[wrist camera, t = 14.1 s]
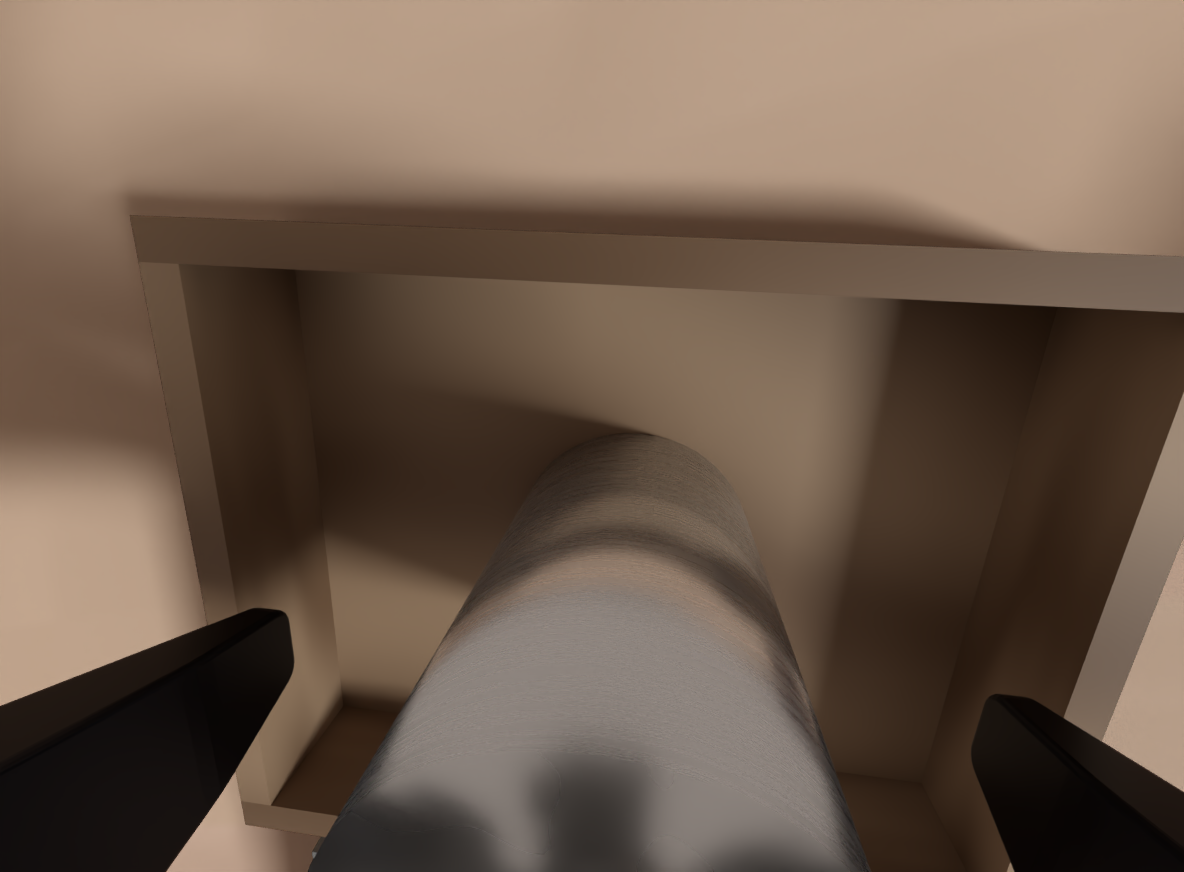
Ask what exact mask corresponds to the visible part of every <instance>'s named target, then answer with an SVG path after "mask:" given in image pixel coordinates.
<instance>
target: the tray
mask: <svg viewBox="0 0 1184 872" xmlns="http://www.w3.org/2000/svg"><path fill="white" fill-rule="evenodd" d="M130 220H131V225H132V230H133V235H134V241H135V246H136V251H137V256H138V262H139V267H140V272H141V277H142V283H143V288H144V293H145V298H146V304H147V309H148V314H149V319H150V325H151V330H152V335H153V341H154V346H155V351H156V356H157V362H158V367H159V372H160V377H161V383H162V388H163V393H164V398H165V404H166V409H167V414H168V419H169V425H170V430H171V435H172V440H173V446H174V451H175V456H176V461H177V467H178V472H179V477H180V482H181V488H182V493H183V498H184V503H185V509H186V514H187V519H188V525H189V530H190V535H191V540H192V546H193V551H194V556H195V561H196V567H197V572H198V577H199V582H200V588H201V593H202V598H203V603H204V609H205V614H206V619H207V624H208V625H210V624H212V623H215V622H218V621H220V620H223V619H225V618H228V617H230V616H233V615H236V614H238V613H241V612H243V611H246V610H248V609H251V608H267V609H276V610H281V611H283V612H285V613H286V614H287V616H288V618H289V622H290V629H291V637H292V644H293V651H294V659H295V662H294V669H293V673H292V676H291V678H290V680H289V682H288V684H287V685H286V687H285V689H284V691H283V692H282V694H281V696H280V697H279V699H278V701H277V702H276V704H275V706H274V707H273V709H272V711H271V712H270V714H269V716H268V717H267V719H266V721H265V722H264V724H263V726H262V727H261V729H260V731H259V732H258V734H257V736H256V737H255V739H254V741H253V742H252V744H251V746H250V747H249V749H248V751H247V753H246V754H245V756H244V758H243V759H242V761H241V763H240V764H239V766H238V768H237V769H236V771H235V772H236V777H237V782H238V787H239V793H240V798H241V803H242V808H243V814H244V819H245V824H246V825H252V826H258V827H264V828H270V829H277V830H283V831H289V832H296V833H302V834H308V835H314V836H321V837H326V836H327V834H328V832H329V831H330V829H331V827H332V826H333V824H334V822H335V821H336V819H337V817H338V816H339V814H340V812H341V810H342V809H343V807H344V805H345V804H346V802H347V800H348V799H349V797H350V795H351V794H352V792H353V790H354V788H355V787H356V785H357V783H358V782H359V780H360V778H361V777H362V775H363V773H364V772H365V770H366V768H367V766H368V765H369V763H370V761H371V760H372V758H373V756H374V755H375V753H376V751H377V750H378V748H379V746H380V744H381V743H382V741H383V739H384V738H385V736H386V734H387V733H388V731H389V729H390V728H391V726H392V724H393V722H394V721H395V719H396V717H397V716H398V714H399V712H400V711H401V709H402V707H403V705H404V704H405V702H406V700H407V699H408V697H409V695H410V694H411V692H412V690H413V689H414V687H415V685H416V683H417V682H418V680H419V678H420V677H421V675H422V673H423V672H424V670H425V668H426V667H427V665H428V663H429V661H430V660H431V658H432V656H433V655H434V653H435V651H436V650H437V648H438V646H439V645H440V643H441V641H442V639H443V638H444V636H445V634H446V633H447V631H448V629H449V628H450V626H451V624H452V623H453V621H454V619H455V617H456V616H457V614H458V612H459V611H460V609H461V607H462V606H463V604H464V602H465V601H466V599H467V597H468V595H469V594H470V592H471V590H472V589H473V587H474V585H475V584H476V582H477V580H478V579H479V577H480V575H481V573H482V572H483V570H484V568H485V567H486V565H487V563H488V562H489V560H490V558H491V556H492V555H493V553H494V551H495V550H496V548H497V546H498V545H499V543H500V541H501V540H502V538H503V536H504V534H505V533H506V531H507V529H508V528H509V526H510V524H511V523H512V521H513V519H514V518H515V516H516V514H517V512H518V511H519V509H520V507H521V506H522V504H523V502H524V501H525V499H526V497H527V496H528V494H529V492H530V490H531V489H532V487H533V485H534V484H535V482H536V480H537V479H538V478H539V476H540V475H541V474H542V472H543V471H544V470H545V469H546V468H547V467H548V466H549V465H550V464H551V463H552V462H553V461H554V460H555V459H556V458H558V457H559V456H560V455H562V454H563V453H564V452H566V451H567V450H569V449H571V448H573V447H574V446H576V445H578V444H580V443H583V442H585V441H588V440H590V439H593V438H596V437H601V436H605V435H609V434H618V433H643V434H650V435H656V436H660V437H664V438H667V439H671V440H673V441H676V442H678V443H681V444H683V445H686V446H687V447H689V448H691V449H693V450H694V451H696V452H698V453H699V454H701V455H702V456H703V457H705V458H706V459H707V460H709V461H710V462H711V463H712V464H713V465H714V466H715V467H716V468H717V469H718V470H719V471H720V472H721V473H722V474H723V475H724V476H725V478H726V479H727V480H728V481H729V483H730V484H731V485H732V487H733V489H734V491H735V493H736V494H737V496H738V498H739V500H740V503H741V506H742V508H743V511H744V513H745V516H746V519H747V522H748V525H749V528H750V530H751V533H752V536H753V539H754V542H755V545H756V547H757V550H758V553H759V556H760V559H761V562H762V564H763V567H764V570H765V573H766V576H767V578H768V581H769V584H770V587H771V590H772V593H773V595H774V598H775V601H776V604H777V607H778V610H779V612H780V615H781V618H782V621H783V624H784V627H785V629H786V632H787V635H788V638H789V641H790V644H791V646H792V649H793V652H794V655H795V658H796V661H797V663H798V666H799V669H800V672H801V675H802V678H803V680H804V683H805V686H806V689H807V692H808V694H809V697H810V700H811V703H812V706H813V709H814V711H815V714H816V717H817V720H818V723H819V726H820V728H821V731H822V734H823V737H824V740H825V743H826V745H827V748H828V751H829V754H830V757H831V760H832V762H833V765H834V768H835V771H836V774H837V777H838V779H839V782H840V785H841V788H842V791H843V794H844V796H845V799H846V802H847V805H848V808H849V810H850V813H851V816H852V819H853V822H854V825H855V827H856V830H857V833H858V836H859V839H860V842H861V844H862V847H863V850H864V853H865V856H866V859H867V861H868V864H869V867H870V870H871V872H1014V870H1013V867H1012V865H1011V862H1010V860H1009V857H1008V855H1007V852H1006V850H1005V847H1004V845H1003V842H1002V840H1001V837H1000V835H999V832H998V830H997V827H996V825H995V822H994V819H993V817H992V814H991V812H990V809H989V807H988V804H987V802H986V799H985V797H984V794H983V792H982V789H981V787H980V784H979V782H978V779H977V777H976V774H975V772H974V769H973V765H972V761H971V745H972V741H973V738H974V735H975V732H976V729H977V725H978V722H979V719H980V716H981V713H982V709H983V706H984V703H985V701H986V699H987V698H988V697H989V696H991V695H993V694H1005V695H1014V696H1023V697H1028V698H1031V699H1033V700H1035V701H1037V702H1039V703H1040V704H1042V705H1044V706H1045V707H1047V708H1048V709H1050V710H1052V711H1053V712H1055V713H1057V714H1058V715H1060V716H1061V717H1063V718H1065V719H1066V720H1068V721H1069V722H1071V723H1073V724H1074V725H1076V726H1078V727H1079V728H1081V729H1082V730H1084V731H1086V732H1087V733H1089V734H1091V735H1092V736H1094V737H1095V738H1097V739H1099V740H1100V741H1102V739H1103V737H1104V734H1105V732H1106V729H1107V727H1108V724H1109V722H1110V719H1111V717H1112V714H1113V712H1114V709H1115V707H1116V704H1117V702H1118V699H1119V697H1120V695H1121V692H1122V690H1123V687H1124V685H1125V682H1126V680H1127V677H1128V675H1129V672H1130V670H1131V667H1132V665H1133V662H1134V660H1135V657H1136V655H1137V652H1138V650H1139V647H1140V645H1141V642H1142V640H1143V637H1144V635H1145V632H1146V630H1147V627H1148V625H1149V622H1150V620H1151V617H1152V615H1153V612H1154V610H1155V607H1156V605H1157V602H1158V600H1159V597H1160V595H1161V592H1162V590H1163V587H1164V585H1165V582H1166V580H1167V577H1168V575H1169V572H1170V570H1171V567H1172V565H1173V562H1174V560H1175V557H1176V555H1177V552H1178V550H1179V547H1180V545H1181V542H1182V540H1183V537H1184V257H1181V256H1155V255H1130V254H1104V253H1079V252H1053V251H1028V250H1002V249H977V248H951V247H926V246H900V245H875V244H849V243H824V242H798V241H773V240H747V239H722V238H696V237H671V236H645V235H620V234H594V233H569V232H543V231H518V230H492V229H467V228H441V227H416V226H390V225H365V224H339V223H314V222H288V221H263V220H237V219H211V218H186V217H160V216H135V215H130Z"/></svg>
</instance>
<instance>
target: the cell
mask: <svg viewBox="0 0 1184 872" xmlns="http://www.w3.org/2000/svg"><path fill="white" fill-rule="evenodd" d="M308 872H871V870H870V867H869V864H868V861H867V859H866V856H865V853H864V850H863V847H862V844H861V842H860V839H859V836H858V833H857V830H856V827H855V825H854V822H853V819H852V816H851V813H850V810H849V808H848V805H847V802H846V799H845V796H844V794H843V791H842V788H841V785H840V782H839V779H838V777H837V774H836V771H835V768H834V765H833V762H832V760H831V757H830V754H829V751H828V748H827V745H826V743H825V740H824V737H823V734H822V731H821V728H820V726H819V723H818V720H817V717H816V714H815V711H814V709H813V706H812V703H811V700H810V697H809V694H808V692H807V689H806V686H805V683H804V680H803V678H802V675H801V672H800V669H799V666H798V663H797V661H796V658H795V655H794V652H793V649H792V646H791V644H790V641H789V638H788V635H787V632H786V629H785V627H784V624H783V621H782V618H781V615H780V612H779V610H778V607H777V604H776V601H775V598H774V595H773V593H772V590H771V587H770V584H769V581H768V578H767V576H766V573H765V570H764V567H763V564H762V562H761V559H760V556H759V553H758V550H757V547H756V545H755V542H754V539H753V536H752V533H751V530H750V528H749V525H748V522H747V519H746V516H745V513H744V511H743V508H742V506H741V503H740V500H739V498H738V496H737V494H736V493H735V491H734V489H733V487H732V485H731V484H730V483H729V481H728V480H727V479H726V478H725V476H724V475H723V474H722V473H721V472H720V471H719V470H718V469H717V468H716V467H715V466H714V465H713V464H712V463H711V462H710V461H709V460H707V459H706V458H705V457H703V456H702V455H701V454H699V453H698V452H696V451H694V450H693V449H691V448H689V447H687V446H686V445H683V444H681V443H678V442H676V441H673V440H671V439H667V438H664V437H660V436H656V435H650V434H643V433H618V434H609V435H605V436H601V437H596V438H593V439H590V440H588V441H585V442H583V443H580V444H578V445H576V446H574V447H573V448H571V449H569V450H567V451H566V452H564V453H563V454H562V455H560V456H559V457H558V458H556V459H555V460H554V461H553V462H552V463H551V464H550V465H549V466H548V467H547V468H546V469H545V470H544V471H543V472H542V474H541V475H540V476H539V478H538V479H537V480H536V482H535V484H534V485H533V487H532V489H531V490H530V492H529V494H528V496H527V497H526V499H525V501H524V502H523V504H522V506H521V507H520V509H519V511H518V512H517V514H516V516H515V518H514V519H513V521H512V523H511V524H510V526H509V528H508V529H507V531H506V533H505V534H504V536H503V538H502V540H501V541H500V543H499V545H498V546H497V548H496V550H495V551H494V553H493V555H492V556H491V558H490V560H489V562H488V563H487V565H486V567H485V568H484V570H483V572H482V573H481V575H480V577H479V579H478V580H477V582H476V584H475V585H474V587H473V589H472V590H471V592H470V594H469V595H468V597H467V599H466V601H465V602H464V604H463V606H462V607H461V609H460V611H459V612H458V614H457V616H456V617H455V619H454V621H453V623H452V624H451V626H450V628H449V629H448V631H447V633H446V634H445V636H444V638H443V639H442V641H441V643H440V645H439V646H438V648H437V650H436V651H435V653H434V655H433V656H432V658H431V660H430V661H429V663H428V665H427V667H426V668H425V670H424V672H423V673H422V675H421V677H420V678H419V680H418V682H417V683H416V685H415V687H414V689H413V690H412V692H411V694H410V695H409V697H408V699H407V700H406V702H405V704H404V705H403V707H402V709H401V711H400V712H399V714H398V716H397V717H396V719H395V721H394V722H393V724H392V726H391V728H390V729H389V731H388V733H387V734H386V736H385V738H384V739H383V741H382V743H381V744H380V746H379V748H378V750H377V751H376V753H375V755H374V756H373V758H372V760H371V761H370V763H369V765H368V766H367V768H366V770H365V772H364V773H363V775H362V777H361V778H360V780H359V782H358V783H357V785H356V787H355V788H354V790H353V792H352V794H351V795H350V797H349V799H348V800H347V802H346V804H345V805H344V807H343V809H342V810H341V812H340V814H339V816H338V817H337V819H336V821H335V822H334V824H333V826H332V827H331V829H330V831H329V832H328V834H327V836H326V838H325V839H324V841H323V843H322V845H321V846H320V848H319V850H318V852H317V854H316V855H315V857H314V859H313V861H312V863H311V864H310V867H309V870H308Z"/></svg>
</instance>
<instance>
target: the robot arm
mask: <svg viewBox="0 0 1184 872" xmlns="http://www.w3.org/2000/svg"><path fill="white" fill-rule="evenodd" d="M294 662H295V659H294V651H293V644H292V637H291V629H290V622H289V618H288V616H287V614H286V613H285V612H283V611H281V610H276V609H267V608H251V609H248V610H246V611H243V612H241V613H238V614H236V615H233V616H230V617H228V618H225V619H223V620H220V621H218V622H215V623H212V624H210V625H207V626H205V627H202V628H200V629H197V630H194V631H192V632H189V633H187V634H184V635H182V636H179V637H176V638H174V639H171V640H169V641H166V642H164V643H161V644H158V645H156V646H153V647H151V648H148V649H146V650H143V651H140V652H138V653H135V654H133V655H130V656H128V657H125V658H122V659H120V660H117V661H115V662H112V663H110V664H107V665H104V666H102V667H99V668H97V669H94V670H92V671H89V672H86V673H84V674H81V675H79V676H76V677H74V678H71V679H68V680H66V681H63V682H61V683H58V684H56V685H53V686H50V687H48V688H45V689H43V690H40V691H38V692H35V693H32V694H30V695H27V696H25V697H22V698H20V699H17V700H14V701H12V702H9V703H7V704H4V705H2V706H0V872H166V871H167V870H168V868H169V867H170V865H171V864H172V863H173V861H174V860H175V858H176V857H177V856H178V854H179V853H180V851H181V850H182V849H183V847H184V846H185V844H186V843H187V842H188V840H189V839H190V837H191V836H192V835H193V833H194V832H195V830H196V829H197V828H198V826H199V825H200V823H201V822H202V821H203V819H204V818H205V816H206V815H207V814H208V812H209V811H210V809H211V808H212V806H213V805H214V803H215V802H216V800H217V799H218V798H219V796H220V795H221V793H222V792H223V790H224V788H225V787H226V785H227V784H228V782H229V781H230V779H231V777H232V776H233V774H234V773H235V771H236V769H237V768H238V766H239V764H240V763H241V761H242V759H243V758H244V756H245V754H246V753H247V751H248V749H249V747H250V746H251V744H252V742H253V741H254V739H255V737H256V736H257V734H258V732H259V731H260V729H261V727H262V726H263V724H264V722H265V721H266V719H267V717H268V716H269V714H270V712H271V711H272V709H273V707H274V706H275V704H276V702H277V701H278V699H279V697H280V696H281V694H282V692H283V691H284V689H285V687H286V685H287V684H288V682H289V680H290V678H291V676H292V673H293V669H294ZM971 761H972V765H973V769H974V772H975V774H976V777H977V779H978V782H979V784H980V787H981V789H982V792H983V794H984V797H985V799H986V802H987V804H988V807H989V809H990V812H991V814H992V817H993V819H994V822H995V825H996V827H997V830H998V832H999V835H1000V837H1001V840H1002V842H1003V845H1004V847H1005V850H1006V852H1007V855H1008V857H1009V860H1010V862H1011V865H1012V867H1013V870H1014V872H1184V792H1183V791H1181V790H1180V789H1178V788H1176V787H1175V786H1173V785H1172V784H1170V783H1168V782H1167V781H1165V780H1163V779H1162V778H1160V777H1159V776H1157V775H1155V774H1154V773H1152V772H1150V771H1149V770H1147V769H1146V768H1144V767H1142V766H1141V765H1139V764H1138V763H1136V762H1134V761H1133V760H1131V759H1129V758H1128V757H1126V756H1125V755H1123V754H1121V753H1120V752H1118V751H1116V750H1115V749H1113V748H1112V747H1110V746H1108V745H1107V744H1105V743H1104V742H1102V741H1100V740H1099V739H1097V738H1095V737H1094V736H1092V735H1091V734H1089V733H1087V732H1086V731H1084V730H1082V729H1081V728H1079V727H1078V726H1076V725H1074V724H1073V723H1071V722H1069V721H1068V720H1066V719H1065V718H1063V717H1061V716H1060V715H1058V714H1057V713H1055V712H1053V711H1052V710H1050V709H1048V708H1047V707H1045V706H1044V705H1042V704H1040V703H1039V702H1037V701H1035V700H1033V699H1031V698H1028V697H1023V696H1014V695H1005V694H993V695H991V696H989V697H988V698H987V699H986V701H985V703H984V706H983V709H982V713H981V716H980V719H979V722H978V725H977V729H976V732H975V735H974V738H973V741H972V745H971Z"/></svg>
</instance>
